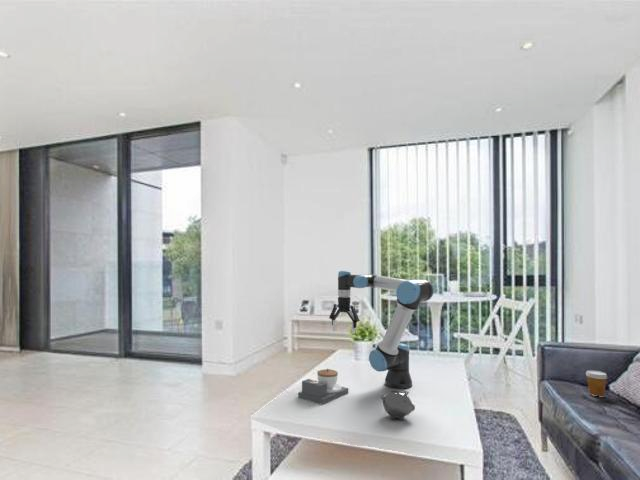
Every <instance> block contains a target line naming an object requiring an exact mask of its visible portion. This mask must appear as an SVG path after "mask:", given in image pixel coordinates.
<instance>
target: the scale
mask: <svg viewBox="0 0 640 480" xmlns="http://www.w3.org/2000/svg"><path fill="white" fill-rule="evenodd" d="M347 394H349V388H348V387H345V386H341V385H340V384H338V383H336V384H335V386H333V388H331V389H327V383H323V382H319V381H318V380H314V379H310V378H307V379H305V380H301V391H299V392H298V393H297V395H298V396H297V397H298V398H299V399H301V400H306V401H309V402H313V403H317V404H320V405H325V404H327V403H330V402H332V401H334V400H336V399H339V398H341V397H343V396H345V395H347ZM298 398H297V399H298Z"/></svg>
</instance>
